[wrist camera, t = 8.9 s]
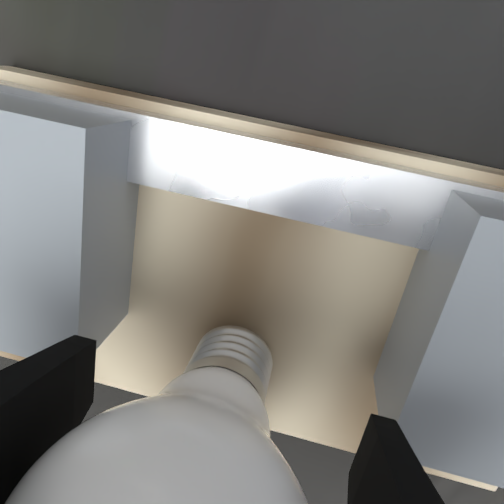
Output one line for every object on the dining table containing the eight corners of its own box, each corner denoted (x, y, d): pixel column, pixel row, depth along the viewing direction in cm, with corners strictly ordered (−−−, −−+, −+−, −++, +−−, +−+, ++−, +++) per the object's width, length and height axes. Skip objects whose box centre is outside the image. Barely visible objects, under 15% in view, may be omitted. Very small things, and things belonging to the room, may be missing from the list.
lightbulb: (325, 428, 16) (313, 985, 6) (162, 412, 17) (-74, 866, 7) (330, 270, 14) (325, 730, 4) (144, 263, 15) (-231, 615, 5)
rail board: (621, 194, 13) (772, 254, 9) (482, 459, 18) (535, 593, 13) (10, 66, 15) (-130, 59, 11) (17, 334, 19) (-81, 413, 15)
